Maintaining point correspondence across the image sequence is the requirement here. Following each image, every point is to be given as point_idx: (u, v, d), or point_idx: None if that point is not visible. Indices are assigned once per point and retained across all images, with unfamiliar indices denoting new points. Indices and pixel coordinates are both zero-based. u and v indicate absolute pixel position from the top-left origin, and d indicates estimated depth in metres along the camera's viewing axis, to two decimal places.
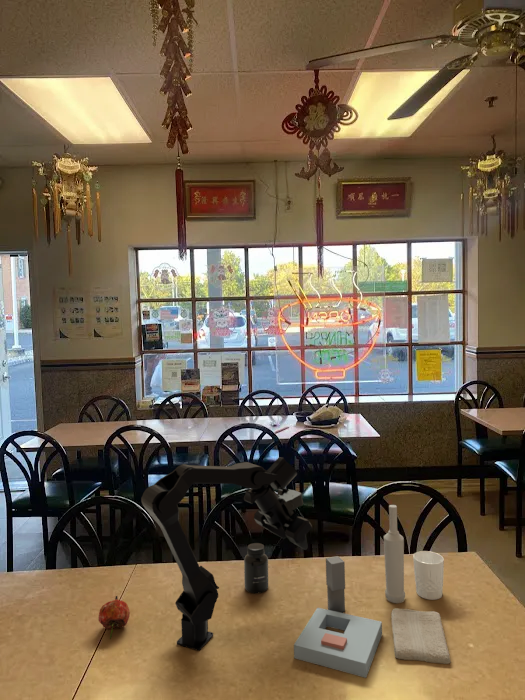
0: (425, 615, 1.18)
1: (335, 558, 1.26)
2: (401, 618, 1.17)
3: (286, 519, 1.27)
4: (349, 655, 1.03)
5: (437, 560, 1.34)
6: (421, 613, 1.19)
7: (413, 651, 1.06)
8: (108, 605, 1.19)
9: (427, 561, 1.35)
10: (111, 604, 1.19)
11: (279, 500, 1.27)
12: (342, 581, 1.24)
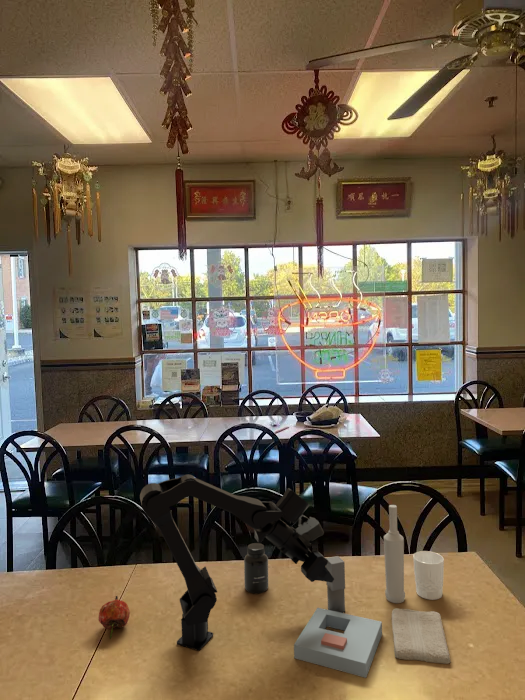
0: (426, 615, 1.18)
1: (335, 558, 1.26)
2: (401, 618, 1.17)
3: (304, 553, 1.20)
4: (349, 655, 1.03)
5: (437, 560, 1.34)
6: (421, 613, 1.19)
7: (413, 651, 1.06)
8: (108, 605, 1.19)
9: (427, 561, 1.35)
10: (111, 604, 1.19)
11: (292, 534, 1.20)
12: (342, 581, 1.24)
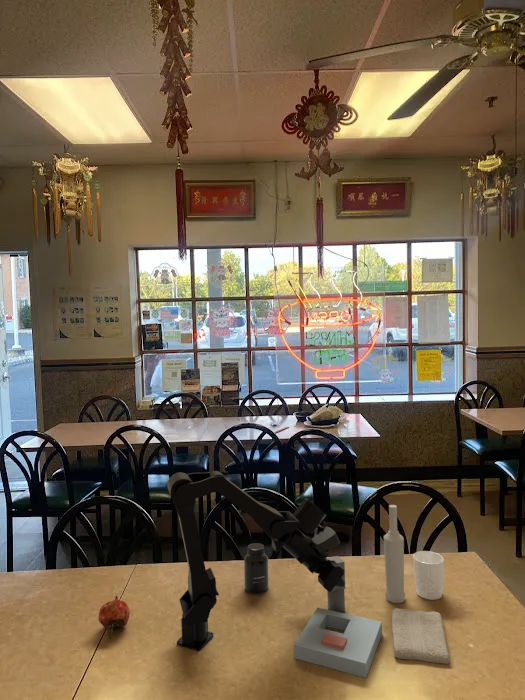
0: (426, 615, 1.18)
1: (335, 558, 1.26)
2: (402, 618, 1.17)
3: (320, 562, 1.21)
4: (349, 655, 1.03)
5: (437, 560, 1.34)
6: (422, 613, 1.19)
7: (412, 651, 1.06)
8: (108, 605, 1.19)
9: (427, 561, 1.35)
10: (111, 604, 1.19)
11: (309, 544, 1.21)
12: None
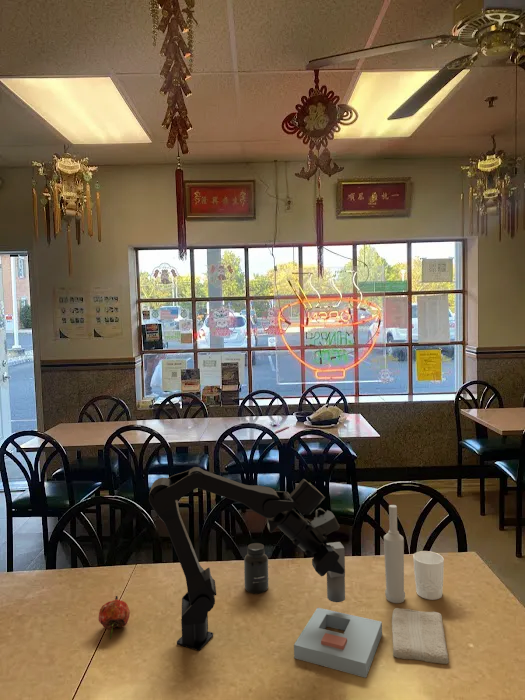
0: (426, 615, 1.18)
1: (336, 544, 1.20)
2: (402, 618, 1.17)
3: (317, 546, 1.16)
4: (349, 655, 1.03)
5: (437, 560, 1.34)
6: (422, 613, 1.19)
7: (411, 650, 1.06)
8: (108, 605, 1.19)
9: (427, 561, 1.35)
10: (111, 604, 1.19)
11: (305, 526, 1.16)
12: None
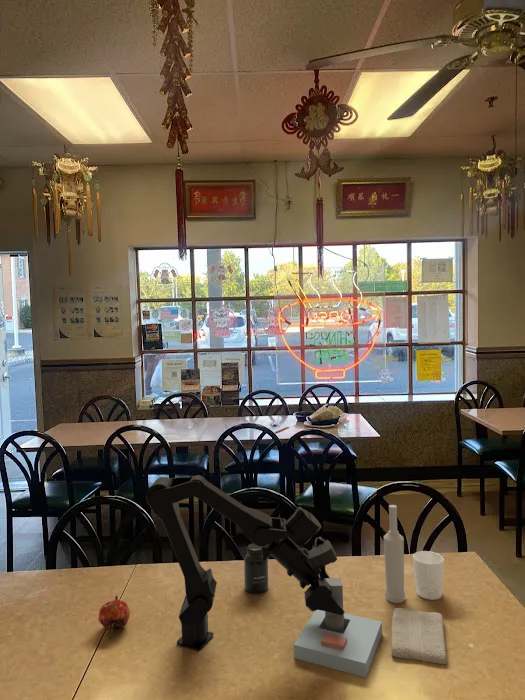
0: (427, 616, 1.18)
1: (335, 580, 1.15)
2: (402, 617, 1.17)
3: (312, 578, 1.11)
4: (349, 655, 1.03)
5: (437, 560, 1.34)
6: (423, 613, 1.19)
7: (409, 650, 1.06)
8: (108, 605, 1.19)
9: (427, 561, 1.35)
10: (111, 604, 1.19)
11: (300, 557, 1.12)
12: None
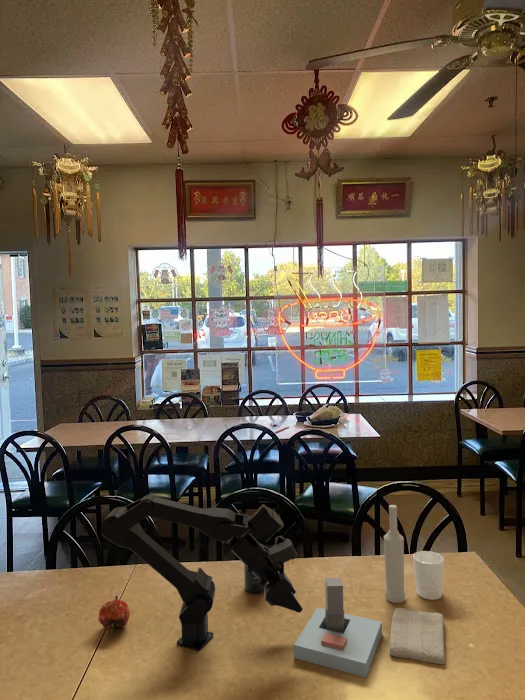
0: (428, 616, 1.18)
1: (335, 580, 1.15)
2: (402, 617, 1.17)
3: (271, 575, 1.12)
4: (349, 655, 1.03)
5: (437, 560, 1.34)
6: (424, 614, 1.19)
7: (407, 649, 1.06)
8: (108, 605, 1.19)
9: (427, 561, 1.35)
10: (111, 604, 1.19)
11: (261, 553, 1.13)
12: (340, 607, 1.13)
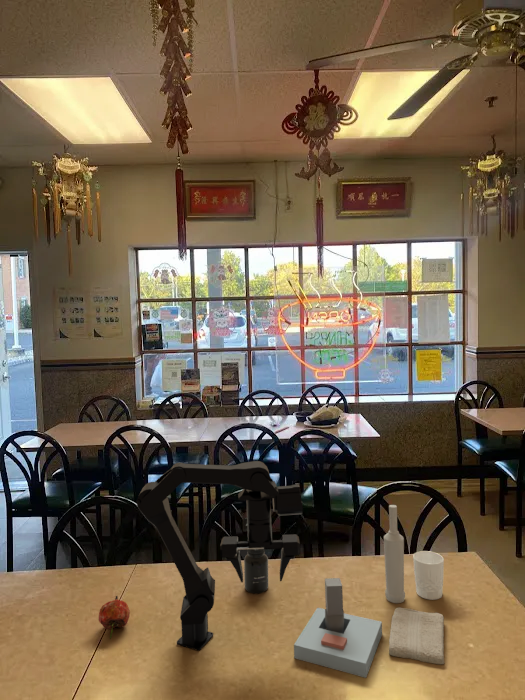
0: (428, 616, 1.18)
1: (335, 580, 1.15)
2: (402, 617, 1.17)
3: (271, 539, 1.16)
4: (349, 655, 1.03)
5: (437, 560, 1.34)
6: (424, 614, 1.19)
7: (407, 649, 1.06)
8: (108, 605, 1.19)
9: (427, 561, 1.35)
10: (111, 604, 1.19)
11: None
12: (339, 606, 1.13)
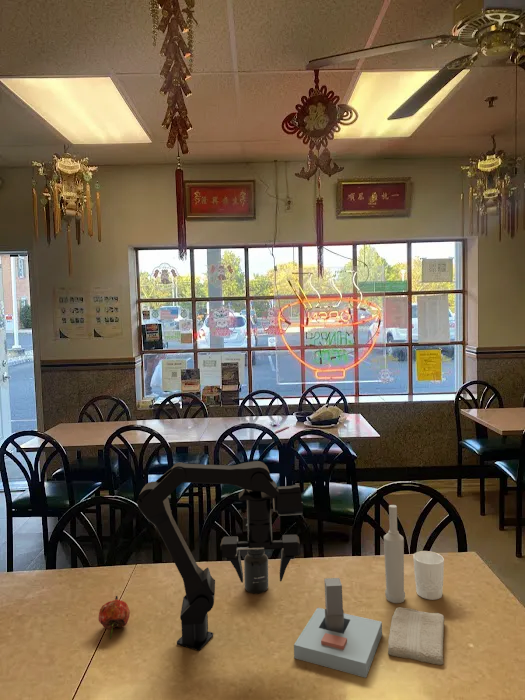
0: (428, 616, 1.18)
1: (334, 580, 1.15)
2: (402, 617, 1.17)
3: None
4: (349, 655, 1.03)
5: (437, 560, 1.34)
6: (424, 614, 1.19)
7: (406, 649, 1.06)
8: (108, 605, 1.19)
9: (427, 561, 1.35)
10: (111, 604, 1.19)
11: None
12: (339, 606, 1.13)
